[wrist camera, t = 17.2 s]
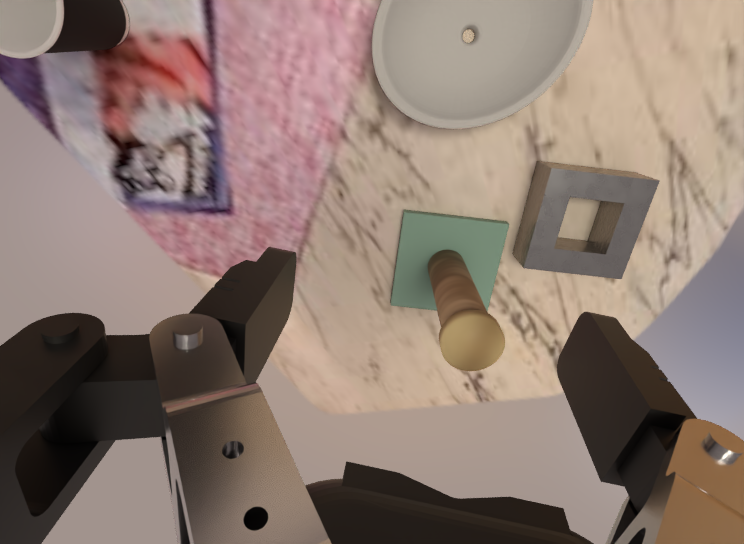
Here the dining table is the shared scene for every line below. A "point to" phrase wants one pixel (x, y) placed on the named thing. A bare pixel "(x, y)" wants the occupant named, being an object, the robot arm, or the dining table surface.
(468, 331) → the peg
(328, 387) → the dining table surface
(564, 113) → the dining table surface
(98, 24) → the dixie cup
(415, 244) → the mat
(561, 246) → the grey square socket block
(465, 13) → the dish
